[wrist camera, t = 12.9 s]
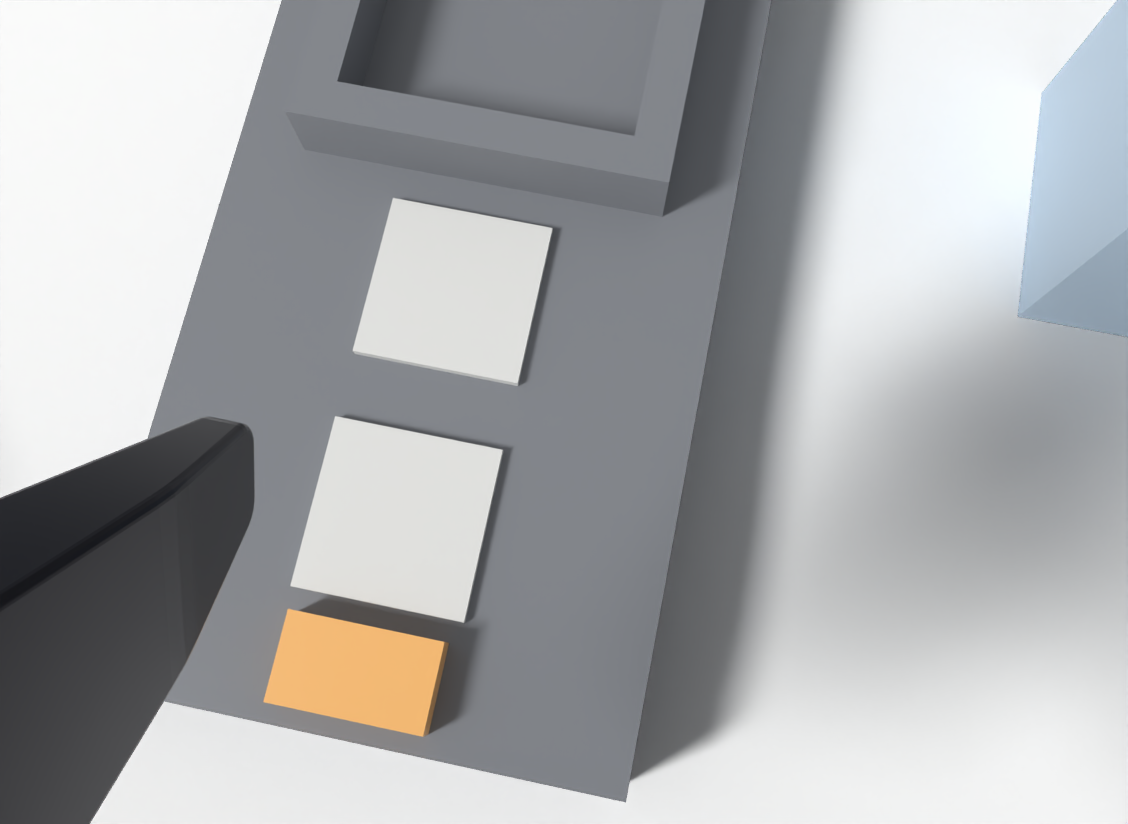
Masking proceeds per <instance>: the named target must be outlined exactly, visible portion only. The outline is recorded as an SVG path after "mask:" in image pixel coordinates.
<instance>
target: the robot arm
mask: <svg viewBox="0 0 1128 824" xmlns="http://www.w3.org/2000/svg"><path fill="white" fill-rule="evenodd" d="M254 504H255V466H254V437H253V434H252V430H251V429H250V428H249V427H248V426H247V425H246V424H244V423H239V422H235V421H230V420H225V419H220V418H215V417H210V416H206V417H201V418H198V419H196V420H193V421H191V422H188V423H186V424H183V425H181V426H178V427H176V428H173V429H171V430H168V431H166V432H163V433H161V434H158V435H156V436H153V437H151V438H148V439H146V440H143V441H141V442H139V443H136V444H134V445H131V446H129V447H126V448H124V449H121V450H119V451H116V452H114V453H111V454H109V455H106V456H104V457H101V458H99V459H96V460H94V461H91V462H89V463H86V464H84V465H81V466H79V467H76V468H74V469H71V470H69V471H66V472H64V473H61V474H59V475H56V476H54V477H51V478H49V479H46V480H44V481H41V482H39V483H36V484H34V485H31V486H29V487H26V488H24V489H21V490H19V491H16V492H14V493H11V494H9V495H6V496H4V497H1V498H0V824H90V823H91V821H92V819H93V818H94V816H95V814H96V813H97V811H98V809H99V808H100V806H101V804H102V803H103V801H104V799H105V798H106V796H107V795H108V793H109V791H110V790H111V788H112V786H113V785H114V783H115V781H116V780H117V778H118V776H119V775H120V773H121V771H122V770H123V768H124V766H125V765H126V763H127V762H128V760H129V758H130V757H131V755H132V753H133V752H134V750H135V748H136V747H137V745H138V743H139V742H140V740H141V738H142V737H143V735H144V733H145V732H146V730H147V729H148V727H149V725H150V724H151V722H152V720H153V719H154V717H155V715H156V714H157V712H158V710H159V709H160V707H161V705H162V704H163V702H164V700H165V699H166V697H167V695H168V694H169V692H170V691H171V689H172V687H173V685H174V684H175V682H176V680H177V678H178V677H179V675H180V673H181V671H182V670H183V668H184V666H185V664H186V662H187V660H188V658H189V656H190V654H191V652H192V650H193V648H194V646H195V644H196V642H197V640H198V637H199V635H200V633H201V631H202V629H203V626H204V624H205V622H206V620H207V618H208V615H209V613H210V611H211V609H212V606H213V604H214V602H215V600H216V598H217V595H218V593H219V591H220V589H221V587H222V584H223V582H224V580H225V578H226V576H227V573H228V571H229V569H230V567H231V565H232V562H233V560H234V558H235V556H236V553H237V551H238V549H239V547H240V545H241V542H242V540H243V538H244V536H245V534H246V531H247V529H248V527H249V524H250V522H251V518H252V515H253V510H254Z"/></svg>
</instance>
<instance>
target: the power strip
mask: <svg viewBox="0 0 1128 824" xmlns="http://www.w3.org/2000/svg"><path fill="white" fill-rule="evenodd" d="M771 1H772V0H282V2H281V5H280V8H279V11H278V15H277V18H276V21H275V24H274V28H273V31H272V34H271V37H270V41H269V44H268V47H267V50H266V54H265V57H264V60H263V64H262V67H261V70H260V73H259V77H258V80H257V83H256V86H255V90H254V93H253V96H252V99H251V103H250V106H249V109H248V112H247V116H246V119H245V122H244V126H243V129H242V132H241V135H240V139H239V142H238V145H237V148H236V152H235V155H234V158H233V161H232V165H231V168H230V171H229V174H228V178H227V181H226V184H225V188H224V191H223V194H222V197H221V201H220V204H219V207H218V210H217V214H216V217H215V220H214V223H213V227H212V230H211V233H210V236H209V240H208V243H207V246H206V250H205V253H204V256H203V259H202V263H201V266H200V269H199V272H198V276H197V279H196V282H195V285H194V289H193V292H192V295H191V298H190V302H189V305H188V308H187V312H186V315H185V318H184V321H183V325H182V328H181V331H180V334H179V338H178V341H177V344H176V347H175V351H174V354H173V357H172V360H171V364H170V367H169V370H168V374H167V377H166V380H165V383H164V387H163V390H162V393H161V396H160V400H159V403H158V406H157V409H156V413H155V416H154V419H153V422H152V426H151V429H150V432H149V436H148V438H151V437H153V436H156V435H158V434H161V433H163V432H166V431H168V430H171V429H173V428H176V427H178V426H181V425H183V424H186V423H188V422H191V421H193V420H196V419H198V418H201V417H206V416H210V417H215V418H220V419H225V420H230V421H235V422H239V423H244V424H246V425H247V426H248V427H249V428H250V429H251V430H252V434H253V437H254V466H255V504H254V510H253V515H252V518H251V522H250V524H249V527H248V529H247V531H246V534H245V536H244V538H243V540H242V542H241V545H240V547H239V549H238V551H237V553H236V556H235V558H234V560H233V562H232V565H231V567H230V569H229V571H228V573H227V576H226V578H225V580H224V582H223V584H222V587H221V589H220V591H219V593H218V595H217V598H216V600H215V602H214V604H213V606H212V609H211V611H210V613H209V615H208V618H207V620H206V622H205V624H204V626H203V629H202V631H201V633H200V635H199V637H198V640H197V642H196V644H195V646H194V648H193V650H192V652H191V654H190V656H189V658H188V660H187V662H186V664H185V666H184V668H183V670H182V671H181V673H180V675H179V677H178V678H177V680H176V682H175V684H174V685H173V687H172V689H171V691H170V692H169V694H168V695H167V697H166V699H165V700H164V701H165V702H170V703H174V704H179V705H183V706H188V707H193V708H197V709H202V710H206V711H211V712H215V713H220V714H225V715H229V716H234V717H238V718H243V719H247V720H252V721H257V722H261V723H266V724H270V725H275V726H279V727H284V728H289V729H293V730H298V731H302V732H307V733H312V734H316V735H321V736H325V737H330V738H334V739H339V740H344V741H348V742H353V743H357V744H362V745H366V746H371V747H376V748H380V749H385V750H389V751H394V752H398V753H403V754H408V755H412V756H417V757H421V758H426V759H430V760H435V761H440V762H444V763H449V764H453V765H458V766H462V767H467V768H472V769H476V770H481V771H485V772H490V773H494V774H499V775H504V776H508V777H513V778H517V779H522V780H526V781H531V782H536V783H540V784H545V785H549V786H554V787H558V788H563V789H568V790H572V791H577V792H581V793H586V794H591V795H595V796H600V797H604V798H609V799H613V800H618V801H623V802H626V798H627V793H628V787H629V782H630V776H631V771H632V765H633V760H634V754H635V749H636V743H637V738H638V732H639V727H640V721H641V716H642V710H643V705H644V699H645V694H646V688H647V683H648V677H649V672H650V666H651V661H652V655H653V650H654V644H655V639H656V633H657V628H658V622H659V617H660V611H661V606H662V600H663V595H664V589H665V584H666V578H667V573H668V567H669V562H670V556H671V551H672V545H673V540H674V534H675V529H676V523H677V518H678V512H679V507H680V501H681V496H682V490H683V485H684V479H685V474H686V468H687V463H688V457H689V452H690V446H691V441H692V435H693V430H694V424H695V419H696V413H697V408H698V402H699V397H700V391H701V386H702V380H703V375H704V369H705V364H706V358H707V353H708V347H709V342H710V336H711V331H712V325H713V320H714V314H715V309H716V303H717V298H718V292H719V287H720V281H721V276H722V270H723V265H724V259H725V254H726V248H727V243H728V237H729V232H730V226H731V221H732V215H733V210H734V204H735V199H736V193H737V188H738V182H739V177H740V171H741V166H742V160H743V155H744V149H745V144H746V138H747V133H748V127H749V122H750V116H751V111H752V105H753V100H754V94H755V89H756V83H757V78H758V72H759V67H760V61H761V56H762V50H763V45H764V40H765V34H766V29H767V23H768V18H769V12H770V7H771Z"/></svg>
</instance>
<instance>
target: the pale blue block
mask: <svg viewBox="0 0 1128 824" xmlns="http://www.w3.org/2000/svg"><path fill="white" fill-rule="evenodd" d="M1018 317H1023V318H1028V319H1034V320H1039V321H1045V322H1050V323H1055V324H1061V325H1066V326H1071V327H1077V328H1082V329H1087V330H1093V331H1098V332H1104V333H1109V334H1114V335H1120V336H1125V337H1128V0H1117V1H1116V2H1115V3H1114V5H1113V6H1112V7H1111V8H1110V10H1109V11H1108V12H1107V13H1106V15H1105V16H1104V17H1103V18H1102V20H1101V21H1100V22H1099V23H1098V24H1097V26H1096V27H1095V28H1094V29H1093V31H1092V32H1091V33H1090V34H1089V36H1088V37H1087V38H1086V39H1085V41H1084V42H1083V43H1082V44H1081V45H1080V47H1079V48H1078V49H1077V50H1076V52H1075V53H1074V54H1073V55H1072V57H1071V58H1070V59H1069V60H1068V61H1067V63H1066V64H1065V65H1064V66H1063V68H1062V69H1061V70H1060V71H1059V73H1058V74H1057V75H1056V76H1055V78H1054V79H1053V80H1052V81H1051V82H1050V84H1049V85H1048V86H1047V87H1046V89H1045V90H1044V91H1043V92H1042V97H1041V106H1040V115H1039V125H1038V134H1037V143H1036V152H1035V162H1034V171H1033V180H1032V190H1031V199H1030V208H1029V217H1028V227H1027V236H1026V245H1025V255H1024V264H1023V273H1022V282H1021V292H1020V301H1019V310H1018Z"/></svg>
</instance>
